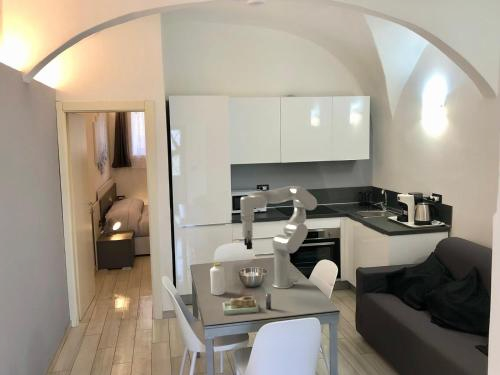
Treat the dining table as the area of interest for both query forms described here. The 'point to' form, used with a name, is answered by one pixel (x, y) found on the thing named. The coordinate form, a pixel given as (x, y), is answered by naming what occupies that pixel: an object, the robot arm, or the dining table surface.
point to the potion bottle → (217, 279)
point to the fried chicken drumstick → (242, 302)
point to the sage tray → (229, 311)
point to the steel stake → (268, 301)
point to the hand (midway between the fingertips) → (248, 247)
